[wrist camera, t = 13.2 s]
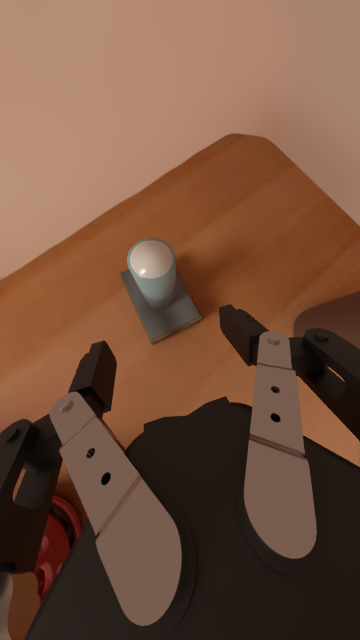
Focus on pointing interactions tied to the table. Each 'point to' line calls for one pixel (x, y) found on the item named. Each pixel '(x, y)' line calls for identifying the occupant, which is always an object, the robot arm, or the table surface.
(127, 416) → the table surface
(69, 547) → the plant pot
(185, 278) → the table surface
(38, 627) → the robot arm
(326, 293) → the table surface
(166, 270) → the ceramic tumbler
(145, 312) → the dark grey slab
